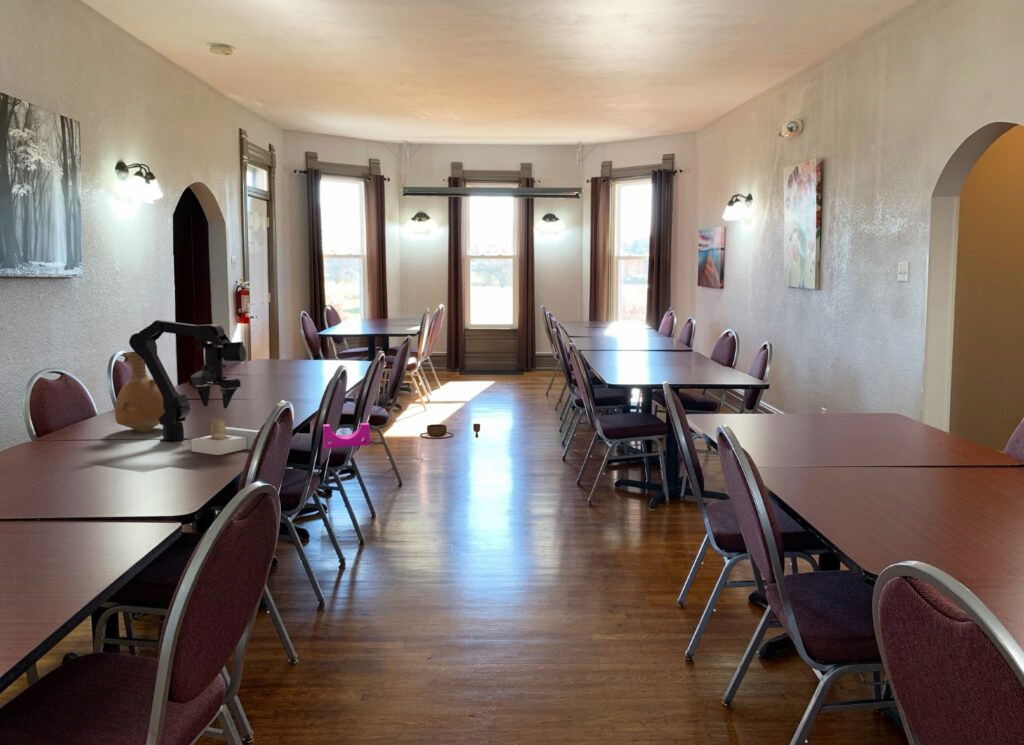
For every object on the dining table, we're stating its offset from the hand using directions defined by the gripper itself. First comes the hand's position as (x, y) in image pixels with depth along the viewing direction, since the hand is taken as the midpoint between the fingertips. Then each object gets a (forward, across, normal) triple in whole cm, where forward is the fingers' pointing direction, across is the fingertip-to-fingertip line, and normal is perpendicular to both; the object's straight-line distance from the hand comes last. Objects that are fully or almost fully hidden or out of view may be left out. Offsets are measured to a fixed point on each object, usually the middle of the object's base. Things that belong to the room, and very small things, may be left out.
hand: (215, 407), depth 296 cm
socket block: (+12, +12, -10) cm, 20 cm away
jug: (+12, -36, 0) cm, 38 cm away
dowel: (+11, +12, -10) cm, 19 cm away
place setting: (+13, +64, +44) cm, 79 cm away
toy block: (+12, +42, +18) cm, 47 cm away
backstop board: (+12, +12, -2) cm, 17 cm away
